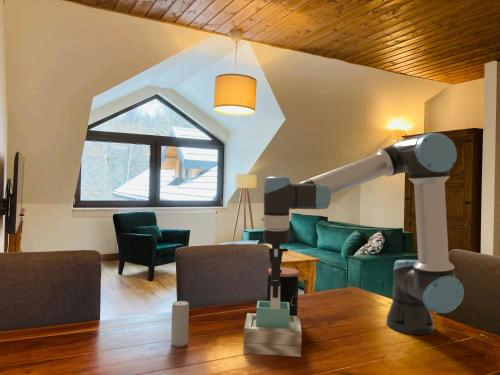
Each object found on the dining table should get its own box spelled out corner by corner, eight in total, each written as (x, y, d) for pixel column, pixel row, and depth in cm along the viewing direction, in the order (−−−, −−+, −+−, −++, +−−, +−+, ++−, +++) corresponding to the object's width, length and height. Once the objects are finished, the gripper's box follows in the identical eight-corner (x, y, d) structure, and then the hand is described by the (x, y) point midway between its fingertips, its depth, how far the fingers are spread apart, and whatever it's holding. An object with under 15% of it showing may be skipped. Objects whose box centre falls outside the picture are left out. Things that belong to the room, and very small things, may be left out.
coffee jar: (295, 329, 134) (297, 275, 133) (263, 326, 136) (265, 272, 135) (298, 319, 144) (300, 268, 144) (268, 316, 146) (270, 266, 146)
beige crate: (298, 338, 126) (299, 316, 126) (300, 356, 113) (301, 331, 113) (246, 335, 127) (247, 313, 127) (243, 353, 114) (243, 328, 114)
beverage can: (173, 348, 116) (175, 306, 115) (168, 342, 120) (170, 301, 120) (190, 345, 118) (191, 304, 118) (184, 339, 122) (185, 299, 122)
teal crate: (288, 322, 123) (289, 302, 123) (288, 330, 116) (289, 309, 116) (256, 320, 124) (257, 300, 124) (255, 328, 117) (256, 307, 117)
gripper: (264, 224, 132) (263, 289, 133) (262, 234, 107) (260, 314, 108) (287, 224, 132) (286, 290, 132) (290, 235, 107) (289, 315, 107)
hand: (275, 301), depth 120 cm, fingers open, 13 cm apart
